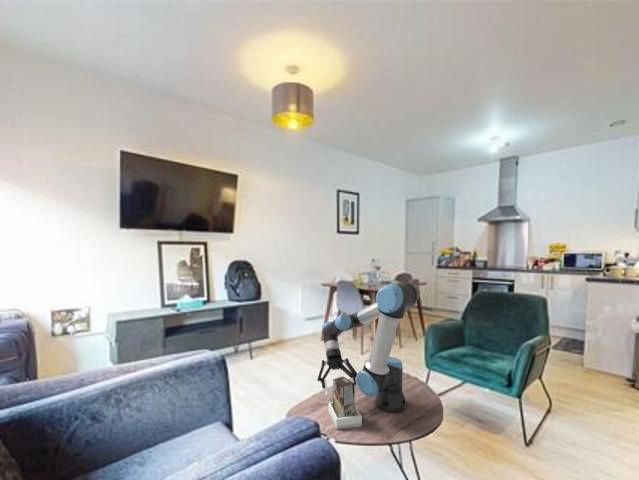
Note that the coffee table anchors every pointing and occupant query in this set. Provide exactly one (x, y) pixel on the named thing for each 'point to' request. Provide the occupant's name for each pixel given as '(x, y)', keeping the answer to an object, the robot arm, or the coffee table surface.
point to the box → (345, 419)
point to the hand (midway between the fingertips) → (340, 393)
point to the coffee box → (343, 397)
